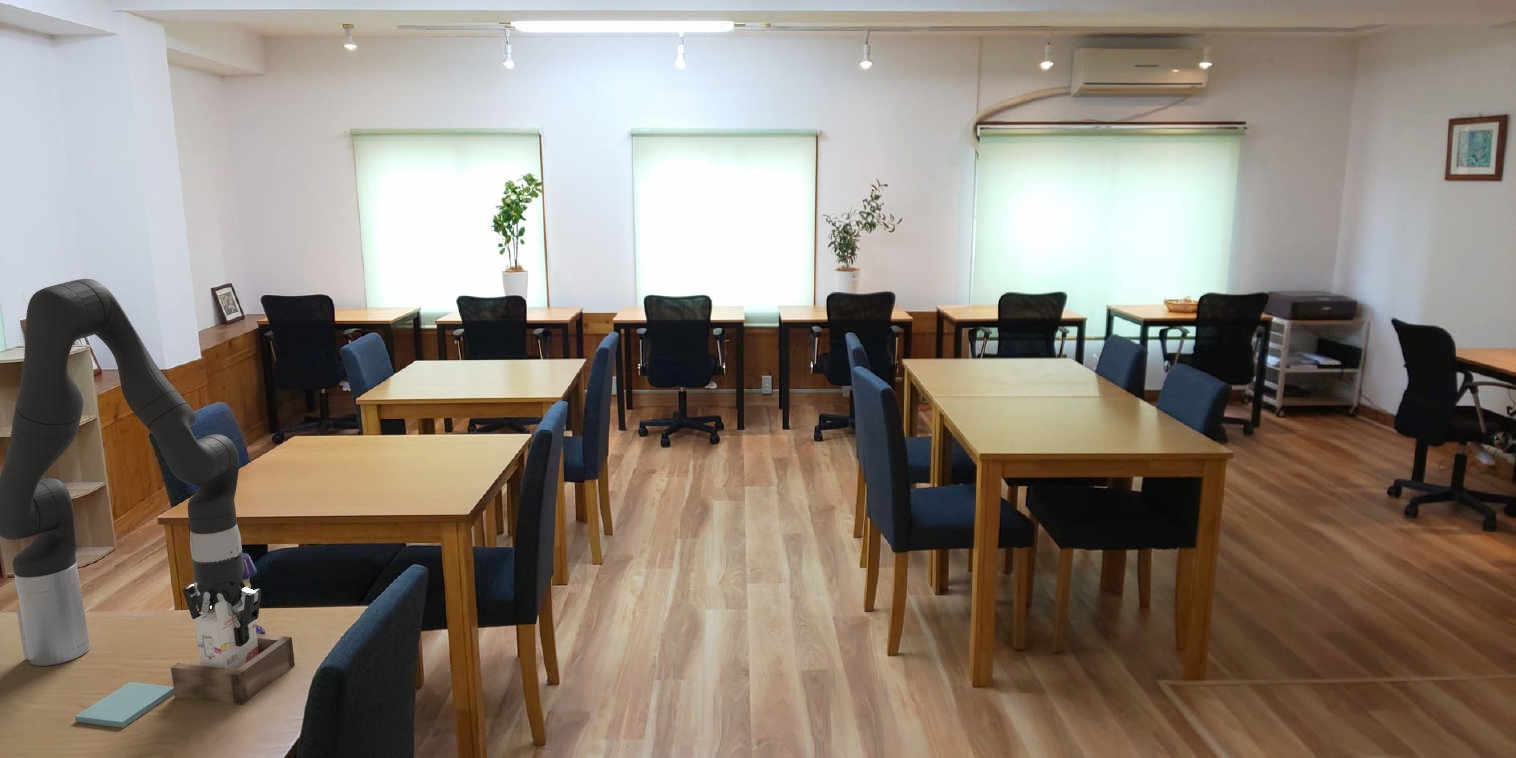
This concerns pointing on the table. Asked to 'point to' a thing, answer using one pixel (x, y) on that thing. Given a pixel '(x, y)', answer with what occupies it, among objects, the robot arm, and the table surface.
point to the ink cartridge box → (223, 639)
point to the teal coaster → (125, 704)
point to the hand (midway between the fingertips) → (228, 642)
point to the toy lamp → (248, 573)
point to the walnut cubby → (236, 674)
